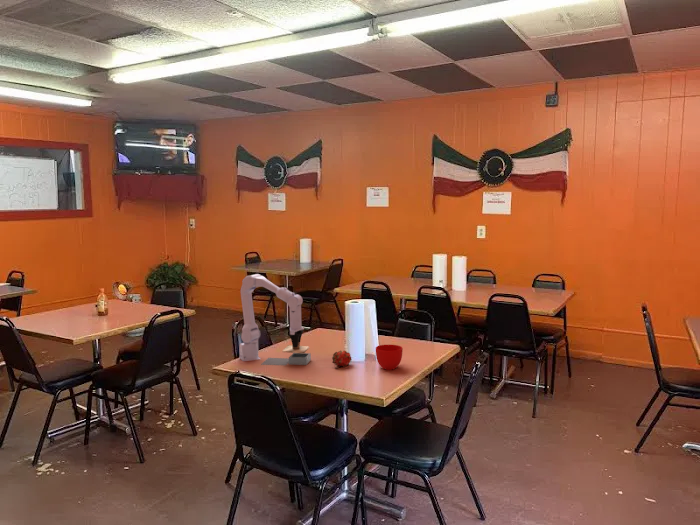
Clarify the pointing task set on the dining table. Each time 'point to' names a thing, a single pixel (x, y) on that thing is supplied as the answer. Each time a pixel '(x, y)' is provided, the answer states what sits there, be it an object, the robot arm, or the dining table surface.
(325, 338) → the dining table surface
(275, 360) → the mat
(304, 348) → the lid
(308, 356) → the dish
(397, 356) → the ceramic cup
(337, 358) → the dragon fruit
